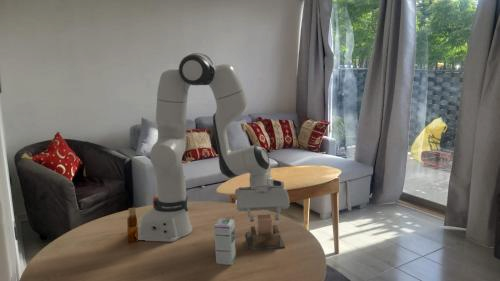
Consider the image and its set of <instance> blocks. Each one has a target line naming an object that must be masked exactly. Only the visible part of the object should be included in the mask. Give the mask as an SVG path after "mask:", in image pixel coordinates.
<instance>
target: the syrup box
mask: <svg viewBox="0 0 500 281" xmlns="http://www.w3.org/2000/svg"><path fill="white" fill-rule="evenodd" d="M216 220H217V221H216V222H215V223H214V225H213V230H214V247H215V248H214V250H215V261H216V262H215V263H216V264H217V265H227V266H233V264H234V262H235V260H236V257H237V248H236V247H237V243H236V242H237V241H236V225H235V219H234V218H230V217H218V219H216Z"/></svg>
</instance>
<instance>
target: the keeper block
mask: <svg viewBox="0 0 500 281" xmlns="http://www.w3.org/2000/svg"><path fill="white" fill-rule="evenodd" d="M272 220H273V219H272V217H271V214H259V215H258V214H257V232H258V235H259V234H272V231H273V223H272Z"/></svg>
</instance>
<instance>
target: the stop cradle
mask: <svg viewBox="0 0 500 281" xmlns="http://www.w3.org/2000/svg"><path fill="white" fill-rule="evenodd" d="M256 230H257V229H256V226H253V225H252V226H250V231H248V232H247V231H246V234H245V235H246V239H247V243H248V250H249V251H255V250H256V251H257V250H270V249H271V250H273V249H285V248H286V245H285V243H284V240H283V236H282V234H281V231H280V230H279V227H278V225H277V224H272V234H259V235H258V231H256Z"/></svg>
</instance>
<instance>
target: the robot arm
mask: <svg viewBox="0 0 500 281" xmlns="http://www.w3.org/2000/svg"><path fill="white" fill-rule="evenodd" d="M191 86H209V87H210V90H211V91H212V94H213V98H214V100H215V104H216V108H215V113H214V114H213V115H212V124H213V125H212V126H213V132H214V138H215V143H216V149H217V153H218V154H217V155H218V166H219V170H220V173H221V174H222V175H224V176H225V177H226V178H228V179H233V178H235V177H238V176H241V175H244V174H249V178H248V181H249V186H246V187H245V186H244V187H238V188H236V189H235V191H234V197H235V198H236V210H237V211H238V212H246V215H247V217H248V219H249V222H251V223H252V222H254V221H255V219H254V218H255V217H254V215H252V214H251V211H271V210H276V212H277V213H276V214H274V221H279V220H280V214H281V211H282V210H288V208H289V207H290V205H291V204H290V197H289V193H288V190H287V189H286V188H285V183H284V181H282V180H277V179H274V178H272V176H271V175H272V174H271V163H270V158H269V154H268V152H267V150H266V149H265V148H264V147H262V146H260V145H257V144H255V145H250V146H246V147H243V148H239V149H236V150H231V149H230V143H229V138H228V133H227V130H228V128H229V125H230V124H231V123H233V121H235V120H236V119H237V118H238V117H240V116H241V115H242V114H243V113H244V111H245V109H246V107H247V103H248V101H247V97H246V93H245V91H244V87H243V84H242V82H241V80H240V78H239V76H238V73H237V72H236V70H235V68H234V67H233V66H232V65H230V64H226V63H225V64H218V65H214V64H213V61H212V60H211V58H210V57H209V56H208V55H206V54H203V53H199V52H194V53H190V54H188V55H186V56H184V57H183V58H182V59H181V61H180V62H179V66H178V68H177V69H168V70H165V71H163V72H161V74H160V78H159V83H158V86H157V91H156V92H157V93H156V110H155V121H156V126H157V139H156V140H157V141H156V142H155V143H154V144H153V146H152V147H151V149H150V152H149V153H150V154H149V160H150V163H151V164H152V167H153V168H152V169H153V172H154V175H155V181H156V192H157V195H154V196H153V198H152V206H153V207H152V208H151V209H150V210H148V211H147V212H145V213H144V214H143V216H142V217H141V219H140V223H139V226H137V227H138V234H139V236H138V240H145V241H146V242H165V243H166V242H171V243H172V242H176V241H177V240H178V239H180V238H183V237H185V236H188V235H190V234H191V232H192V231H193V226H192V223H191V220H190V217H189V199H188V195H187V185H186V182H187V181H186V176H185V173H184V172H185V171H184V167H183V162H182V161H183V160H182V159H183V155H184V154H185V152H186V149H187V125H186V123H187V122H186V121H187V106H188V93H189V89H190V87H191ZM138 240H137V241H138ZM145 241H144V242H145Z"/></svg>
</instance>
